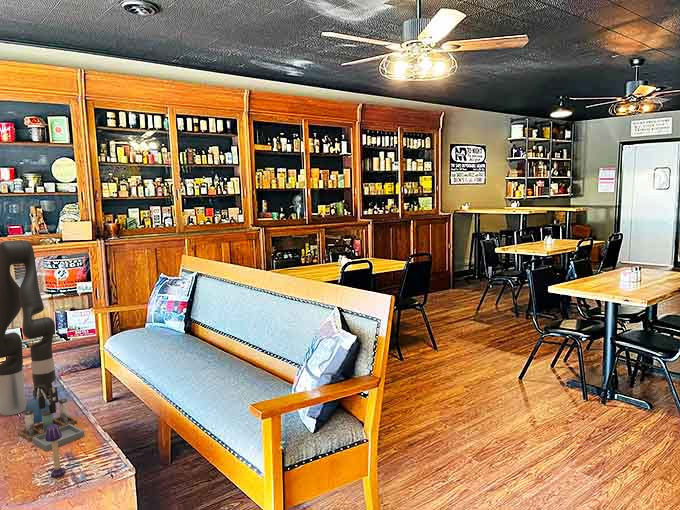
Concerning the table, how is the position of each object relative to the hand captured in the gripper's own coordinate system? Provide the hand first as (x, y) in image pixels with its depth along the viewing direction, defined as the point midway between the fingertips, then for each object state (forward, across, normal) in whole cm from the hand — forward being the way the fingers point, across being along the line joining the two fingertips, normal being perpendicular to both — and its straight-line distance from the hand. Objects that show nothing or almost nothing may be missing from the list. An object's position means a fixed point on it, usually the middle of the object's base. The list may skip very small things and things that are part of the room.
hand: (47, 410), depth 196 cm
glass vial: (+8, -1, -6) cm, 10 cm away
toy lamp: (+9, +35, -14) cm, 39 cm away
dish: (+8, +12, -2) cm, 14 cm away
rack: (+8, 0, 0) cm, 8 cm away
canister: (+8, 0, +6) cm, 10 cm away
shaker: (+8, 0, 0) cm, 8 cm away
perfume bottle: (+8, -14, +2) cm, 16 cm away
